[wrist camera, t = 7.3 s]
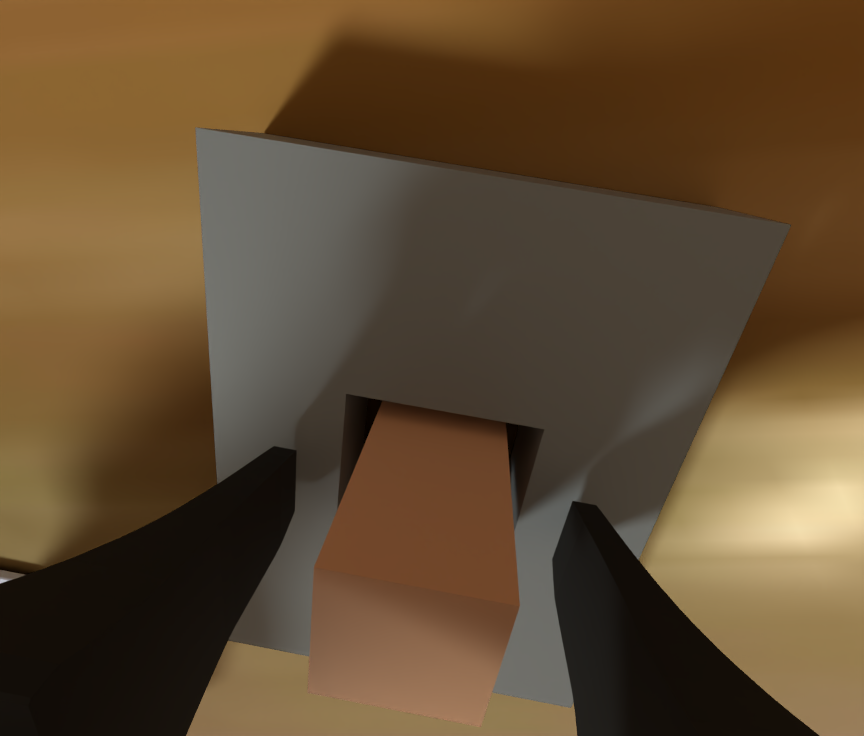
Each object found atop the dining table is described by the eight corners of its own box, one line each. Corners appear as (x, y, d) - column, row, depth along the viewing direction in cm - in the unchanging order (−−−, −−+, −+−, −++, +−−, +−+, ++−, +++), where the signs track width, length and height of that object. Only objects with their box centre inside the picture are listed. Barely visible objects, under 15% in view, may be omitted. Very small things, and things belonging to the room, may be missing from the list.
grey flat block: (557, 622, 19) (571, 707, 16) (265, 566, 19) (226, 640, 16) (718, 207, 12) (791, 225, 9) (262, 133, 12) (195, 127, 10)
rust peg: (482, 471, 16) (481, 727, 9) (385, 454, 16) (307, 692, 9) (503, 384, 15) (519, 606, 8) (396, 366, 15) (313, 567, 8)
